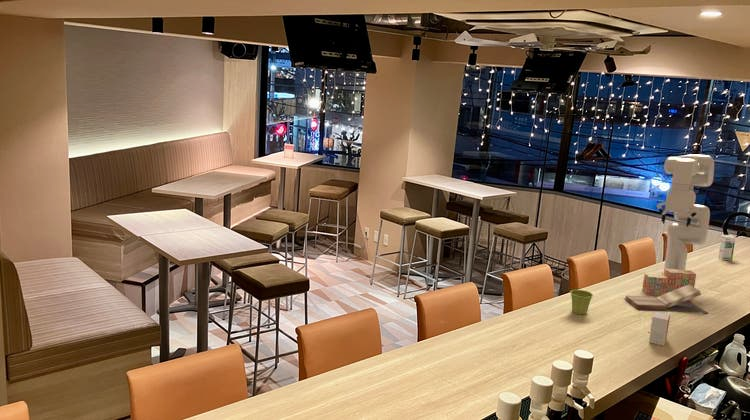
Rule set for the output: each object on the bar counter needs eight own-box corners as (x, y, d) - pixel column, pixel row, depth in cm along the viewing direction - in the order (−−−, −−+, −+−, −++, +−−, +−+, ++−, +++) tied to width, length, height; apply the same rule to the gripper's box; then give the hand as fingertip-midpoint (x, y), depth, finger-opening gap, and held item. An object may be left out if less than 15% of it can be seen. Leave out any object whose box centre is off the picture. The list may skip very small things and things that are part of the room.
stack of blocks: (646, 295, 283) (649, 270, 281) (641, 291, 289) (645, 267, 287) (692, 298, 281) (696, 273, 279) (687, 294, 287) (690, 269, 285)
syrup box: (721, 260, 354) (725, 236, 351) (717, 257, 360) (721, 234, 357) (732, 260, 353) (736, 237, 351) (728, 258, 359) (731, 235, 356)
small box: (664, 346, 223) (668, 320, 221) (648, 342, 226) (652, 316, 224) (667, 339, 230) (670, 314, 228) (651, 336, 233) (654, 310, 231)
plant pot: (594, 312, 256) (596, 293, 255) (585, 318, 249) (587, 298, 248) (574, 306, 262) (576, 288, 261) (564, 312, 256) (566, 292, 254)
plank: (667, 308, 263) (665, 304, 263) (657, 301, 272) (655, 297, 272) (701, 294, 263) (699, 290, 262) (690, 288, 271) (688, 284, 271)
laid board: (625, 299, 273) (625, 295, 273) (653, 300, 274) (653, 296, 273) (637, 309, 262) (637, 304, 261) (666, 309, 262) (666, 305, 262)
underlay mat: (623, 299, 275) (623, 298, 275) (688, 301, 276) (688, 300, 276) (638, 311, 260) (639, 310, 260) (708, 313, 261) (708, 312, 260)
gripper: (702, 188, 264) (696, 226, 268) (659, 184, 272) (654, 221, 275) (702, 190, 258) (696, 228, 261) (659, 186, 266) (653, 223, 269)
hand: (675, 224), depth 268 cm, fingers open, 9 cm apart
